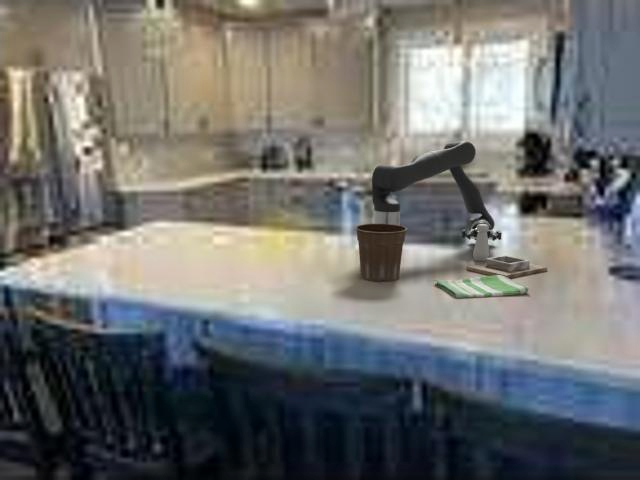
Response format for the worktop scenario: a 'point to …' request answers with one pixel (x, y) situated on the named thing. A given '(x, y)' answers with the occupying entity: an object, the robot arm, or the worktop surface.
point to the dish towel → (482, 287)
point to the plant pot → (380, 251)
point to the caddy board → (507, 267)
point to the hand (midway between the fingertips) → (481, 237)
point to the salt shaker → (481, 243)
